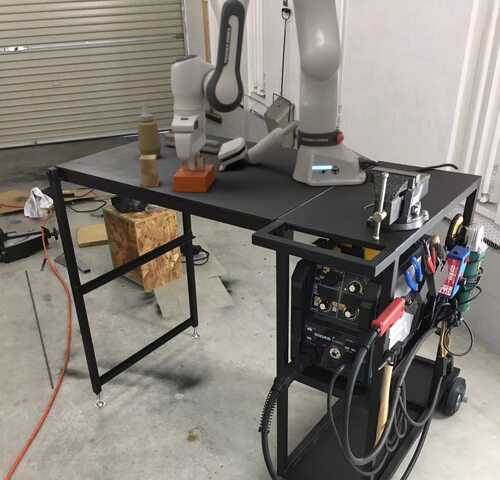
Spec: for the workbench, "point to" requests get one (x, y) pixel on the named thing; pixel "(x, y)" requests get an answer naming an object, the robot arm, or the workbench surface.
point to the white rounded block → (232, 152)
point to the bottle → (270, 143)
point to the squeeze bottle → (148, 134)
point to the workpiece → (149, 170)
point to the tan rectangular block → (199, 164)
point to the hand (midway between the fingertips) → (194, 167)
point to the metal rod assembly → (204, 148)
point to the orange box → (194, 180)
